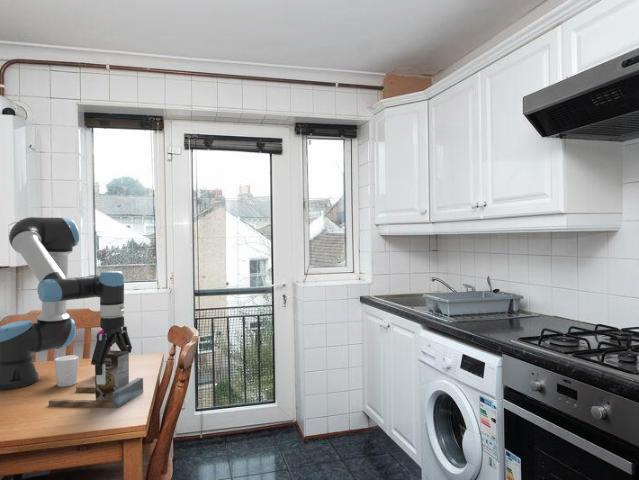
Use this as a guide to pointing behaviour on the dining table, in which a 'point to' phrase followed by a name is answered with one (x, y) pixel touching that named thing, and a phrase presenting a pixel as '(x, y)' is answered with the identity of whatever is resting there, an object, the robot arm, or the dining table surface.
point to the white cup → (66, 370)
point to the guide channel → (119, 400)
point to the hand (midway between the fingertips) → (113, 377)
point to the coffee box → (113, 374)
